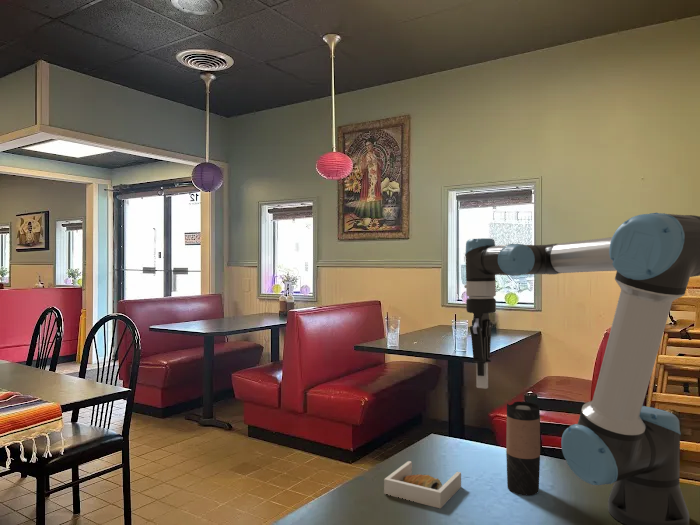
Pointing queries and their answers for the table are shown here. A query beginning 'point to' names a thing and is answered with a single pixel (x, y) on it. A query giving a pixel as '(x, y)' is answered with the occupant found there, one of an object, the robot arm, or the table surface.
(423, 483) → the pastry
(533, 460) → the travel mug
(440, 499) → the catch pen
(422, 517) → the table surface
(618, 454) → the robot arm
